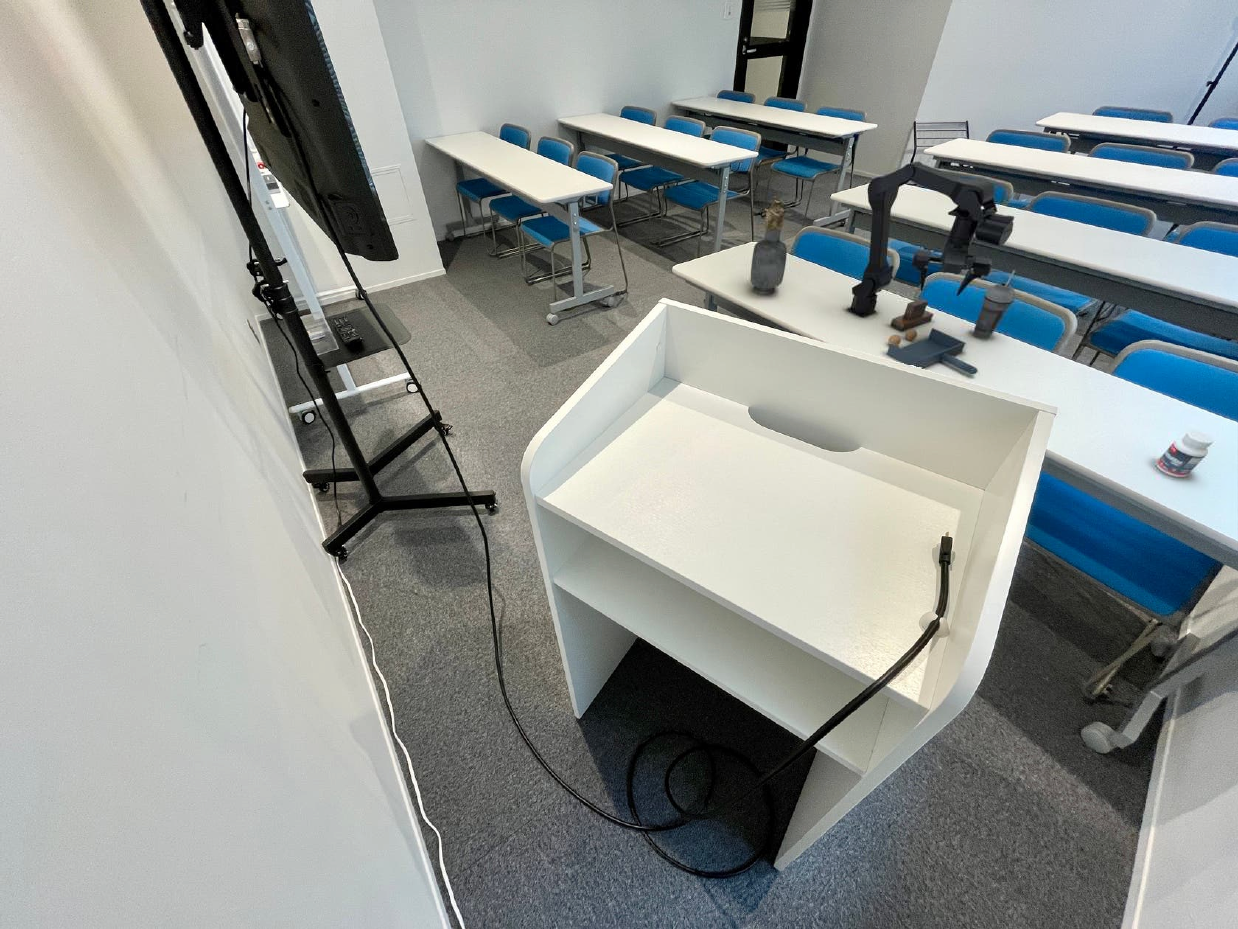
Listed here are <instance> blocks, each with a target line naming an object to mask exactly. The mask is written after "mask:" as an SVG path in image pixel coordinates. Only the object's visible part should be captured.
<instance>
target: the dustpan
mask: <svg viewBox="0 0 1238 929" xmlns="http://www.w3.org/2000/svg"><path fill="white" fill-rule="evenodd" d="M966 344H967V343H966V342H965V341H963V340H960V339H959V338H956V337H954V336H952V335H949V334H948V333H945V332H943V331H940V330H938V329H936V328H933V327H932V328H931V329H930V332H929V335H928V337H927V338H923V339H920V340H919V341H916V342H913V343H910V344H908V345H905V346H903V347H899V346H898V345H897V346H895V345H893V344H889V346H888V349H887V352H886V355H888V356H890V357H892V358H893V359H895V360H897V361H899V362H901V363H903V364H905V365H907V364H908V365H907V366H909V365H914V366H916V367H922V368H921V369H924V368H927V367H930V366H931V365H934V364H936V363H939V362H944V363H946V364H949V365H951V366H952V367H955V368H957V369H959V370H961V371H963V372H965V373H967V374H969V375H976V374H977V373H978V368H977V367H976V366H974V365H971V364H969V363H968V362H965V361H963V360H961V359H958V358H956V357H955V356H956V355H958V354H961V353H963V351H964V348H965V346H966Z"/></svg>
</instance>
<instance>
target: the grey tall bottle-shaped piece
mask: <svg viewBox="0 0 1238 929" xmlns="http://www.w3.org/2000/svg"><path fill="white" fill-rule="evenodd" d="M773 200H774V201H773V202H772V204H771V205H768V206H766V207H765V208H764V211H765V212H766V214H765V215H766V216H765V224H764V228H765V231H764V232H765V233H764V238H763V239H762V240H759V241H757V242H756V243H755V244H754V247H753V252H752V258H751V265H750V266H751V268H750V283H751V284H752V286H754V287H753V291H754V292H755V293H756V294H759V295H763V296H765V295H772V294H773V293H775V291H776V287H779V286H780V285H781V284H782V283H783V280H784V276H785V271H786V264H787V257H788V256H787V254H788V250H787V245H786V243H785V242H783V241H781V240H780V239H781V233H782V230H783V227H784V218H785V215H786V213H787V212H789V211H790V208H788V207H786V206H787V204H786V203H785V202H784V201H783V199H781V198H779V197H778V196H775V195H774V196H773ZM782 204H783V205H782ZM785 205H786V206H785Z"/></svg>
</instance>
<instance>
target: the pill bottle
mask: <svg viewBox="0 0 1238 929" xmlns="http://www.w3.org/2000/svg"><path fill="white" fill-rule="evenodd" d="M1214 441H1215V440H1214V438H1213V437H1212V436H1211V435H1210V434H1207V433H1205V432H1202V431H1198V430H1189V431H1187V433H1186V434H1185V435H1184V436H1183V437H1182V438H1178V439H1176V440H1174V441H1173V443H1172V444H1170V446H1169V447H1168V448H1167V449H1166V450H1165V452H1164V453H1163V454H1162V455H1161V456H1160V458H1159V459H1158V460H1157V461H1156V463H1155V466H1156V467H1157V469H1158V470H1160V471H1161V472H1163V473H1164V474H1166V475H1168V476H1172V477H1176V478H1183V477H1187V476H1188V475H1190V473H1191V472H1192V471H1193V470H1194V469H1196V467H1197V466H1198V465H1199V464H1200V463H1201V462H1202V461H1203V460H1204V459H1205V457H1206V456H1208V453H1209V449H1208V448H1209V447H1211V445H1212V444H1213V443H1214Z"/></svg>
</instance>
